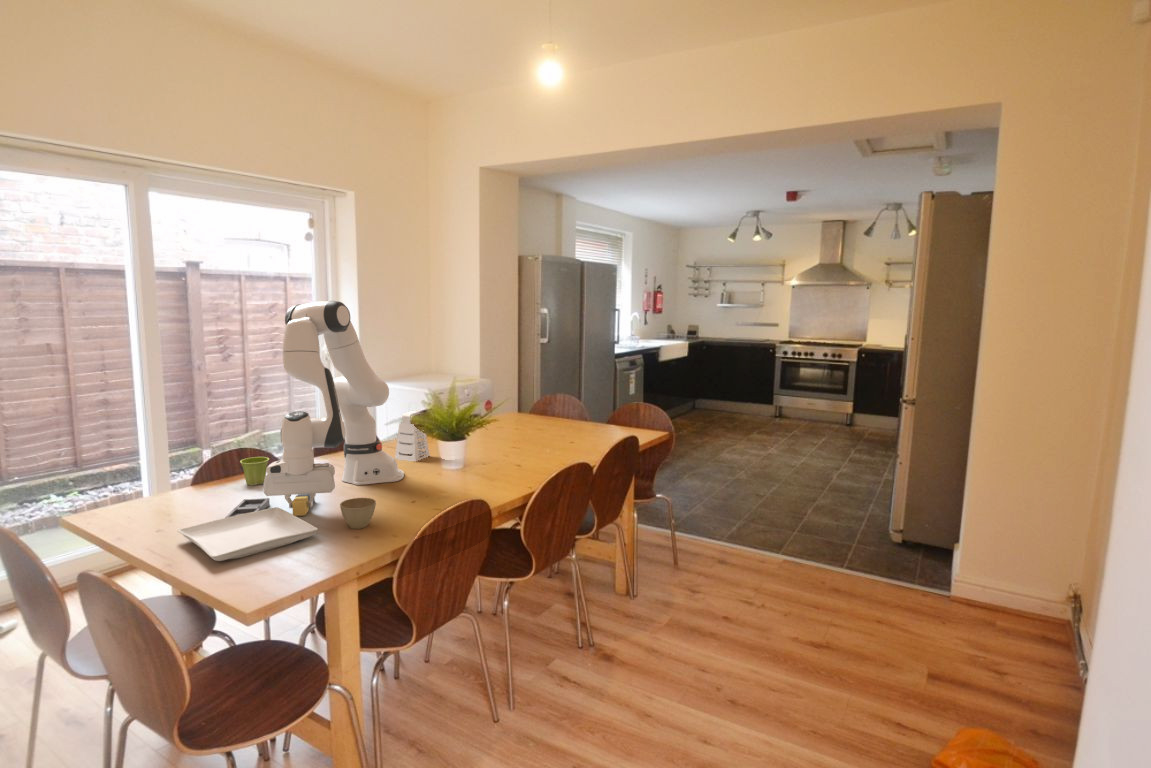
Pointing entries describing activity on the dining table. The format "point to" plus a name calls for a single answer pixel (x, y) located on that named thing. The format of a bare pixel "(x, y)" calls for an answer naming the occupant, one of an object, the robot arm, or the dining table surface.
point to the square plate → (248, 533)
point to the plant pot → (255, 469)
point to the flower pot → (358, 511)
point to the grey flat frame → (249, 506)
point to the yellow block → (300, 505)
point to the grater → (410, 440)
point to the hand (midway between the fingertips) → (301, 507)
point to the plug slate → (309, 497)
